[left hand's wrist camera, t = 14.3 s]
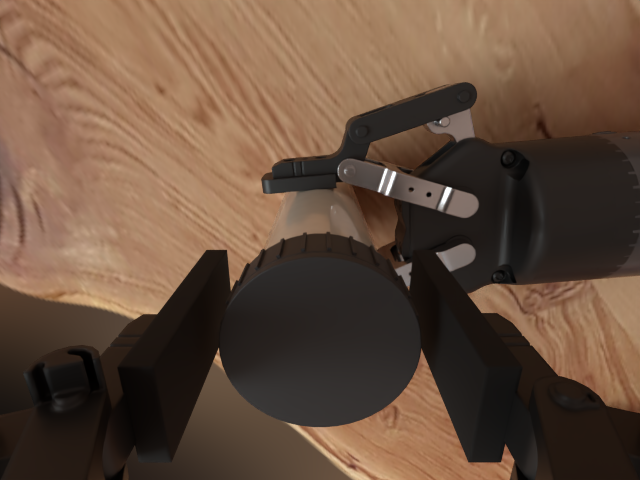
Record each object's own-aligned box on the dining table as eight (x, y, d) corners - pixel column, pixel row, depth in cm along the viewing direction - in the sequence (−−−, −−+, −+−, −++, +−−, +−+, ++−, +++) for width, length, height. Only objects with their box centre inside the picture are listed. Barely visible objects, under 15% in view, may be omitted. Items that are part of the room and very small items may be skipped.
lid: (383, 397, 13) (393, 442, 12) (221, 370, 13) (205, 412, 11) (432, 250, 11) (453, 278, 10) (243, 213, 11) (228, 234, 9)
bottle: (283, 230, 27) (236, 397, 12) (286, 162, 25) (235, 253, 10) (351, 235, 27) (391, 407, 12) (358, 167, 26) (416, 266, 10)
